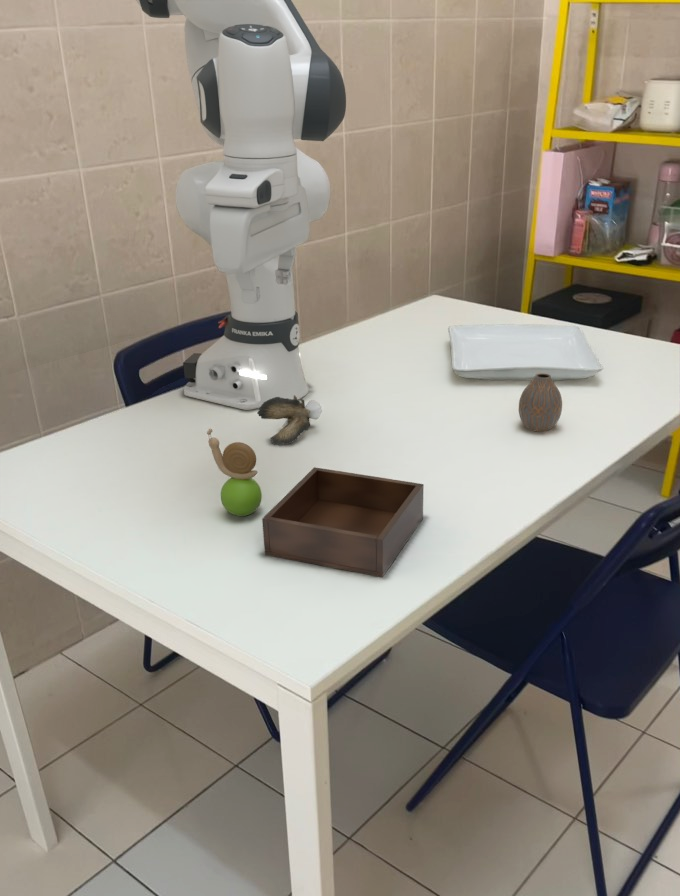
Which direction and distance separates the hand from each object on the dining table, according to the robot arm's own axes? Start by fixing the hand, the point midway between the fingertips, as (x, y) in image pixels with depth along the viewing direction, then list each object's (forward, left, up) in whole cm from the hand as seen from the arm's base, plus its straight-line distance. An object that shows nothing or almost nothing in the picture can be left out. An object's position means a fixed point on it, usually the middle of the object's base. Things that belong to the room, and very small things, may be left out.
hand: (268, 292), depth 114 cm
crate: (+16, -13, -27) cm, 34 cm away
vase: (+31, +31, -27) cm, 52 cm away
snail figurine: (0, -12, -27) cm, 29 cm away
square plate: (+22, +62, -27) cm, 71 cm away
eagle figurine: (-5, +15, -27) cm, 32 cm away
